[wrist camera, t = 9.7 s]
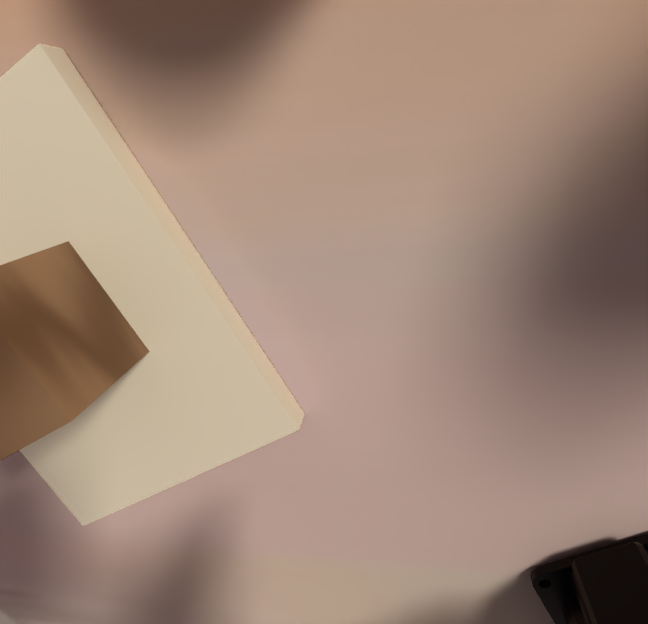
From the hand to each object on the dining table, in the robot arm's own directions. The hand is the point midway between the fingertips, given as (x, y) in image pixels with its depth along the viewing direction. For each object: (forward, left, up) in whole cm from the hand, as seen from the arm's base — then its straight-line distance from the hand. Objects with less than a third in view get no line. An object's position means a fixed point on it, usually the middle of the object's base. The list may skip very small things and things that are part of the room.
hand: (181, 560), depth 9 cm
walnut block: (+5, +8, -10) cm, 14 cm away
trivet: (+5, +8, -12) cm, 15 cm away
